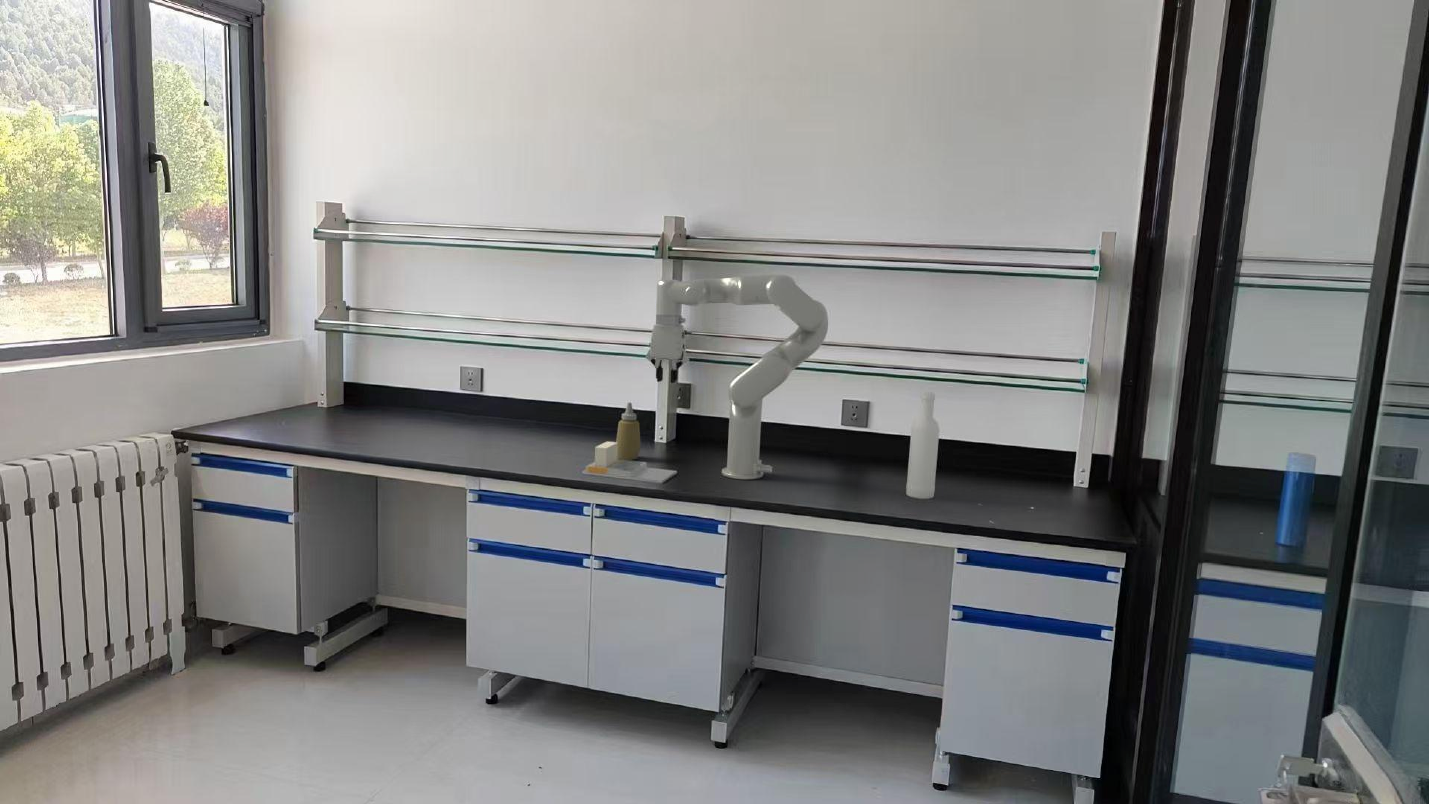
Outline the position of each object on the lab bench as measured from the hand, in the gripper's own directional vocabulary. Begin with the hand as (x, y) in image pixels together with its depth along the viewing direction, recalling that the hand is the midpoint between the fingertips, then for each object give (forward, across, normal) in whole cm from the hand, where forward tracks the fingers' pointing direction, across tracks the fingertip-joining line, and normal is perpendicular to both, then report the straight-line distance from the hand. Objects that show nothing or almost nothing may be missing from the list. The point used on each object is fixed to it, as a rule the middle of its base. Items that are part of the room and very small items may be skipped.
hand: (666, 381), depth 288 cm
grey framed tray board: (+27, +7, +10) cm, 30 cm away
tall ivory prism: (+26, +15, +10) cm, 32 cm away
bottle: (+28, -77, -4) cm, 82 cm away
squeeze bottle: (+27, +15, -8) cm, 32 cm away
